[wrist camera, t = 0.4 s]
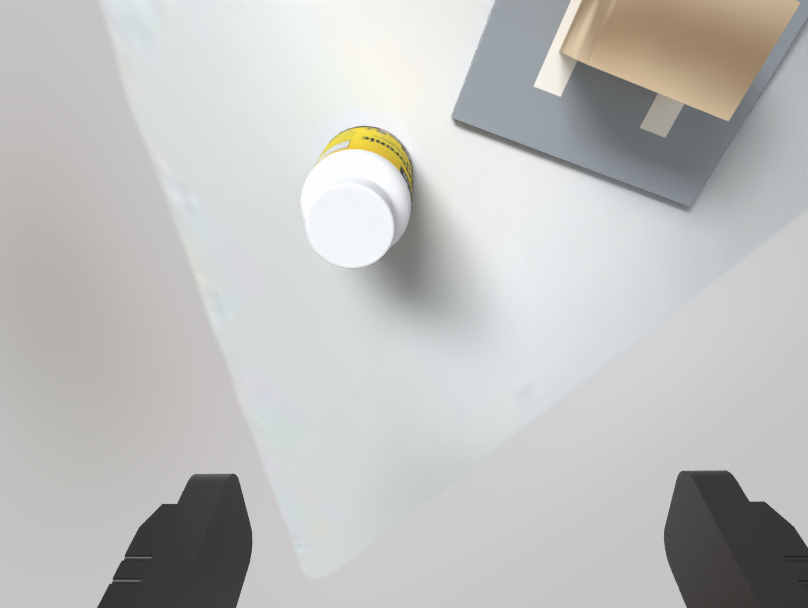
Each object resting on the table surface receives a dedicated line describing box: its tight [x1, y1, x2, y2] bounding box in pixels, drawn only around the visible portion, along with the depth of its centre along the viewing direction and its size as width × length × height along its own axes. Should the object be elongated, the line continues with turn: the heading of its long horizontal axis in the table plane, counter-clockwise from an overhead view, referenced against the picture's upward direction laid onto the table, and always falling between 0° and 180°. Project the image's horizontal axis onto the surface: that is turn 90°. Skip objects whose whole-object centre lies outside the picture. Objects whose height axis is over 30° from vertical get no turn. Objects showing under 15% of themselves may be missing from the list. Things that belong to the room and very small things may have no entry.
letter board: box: [451, 0, 808, 207], centre depth 30 cm, size 15×15×1 cm
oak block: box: [559, 0, 801, 121], centre depth 27 cm, size 5×7×6 cm
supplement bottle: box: [301, 125, 413, 268], centre depth 30 cm, size 5×5×10 cm
